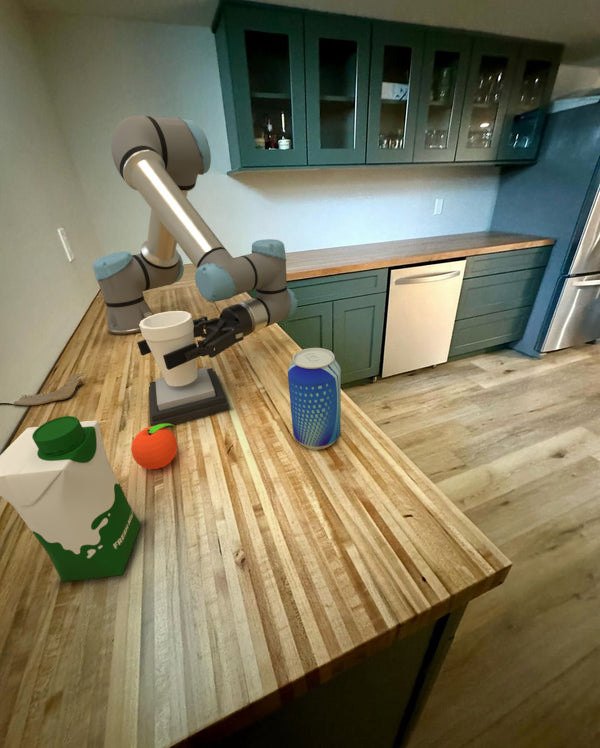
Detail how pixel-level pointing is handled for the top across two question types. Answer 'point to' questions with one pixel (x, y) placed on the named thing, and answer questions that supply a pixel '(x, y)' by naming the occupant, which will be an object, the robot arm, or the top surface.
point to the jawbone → (52, 393)
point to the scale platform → (184, 391)
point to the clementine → (154, 446)
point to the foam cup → (170, 343)
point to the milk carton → (70, 498)
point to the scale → (188, 405)
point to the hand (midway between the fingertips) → (152, 355)
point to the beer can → (315, 397)
